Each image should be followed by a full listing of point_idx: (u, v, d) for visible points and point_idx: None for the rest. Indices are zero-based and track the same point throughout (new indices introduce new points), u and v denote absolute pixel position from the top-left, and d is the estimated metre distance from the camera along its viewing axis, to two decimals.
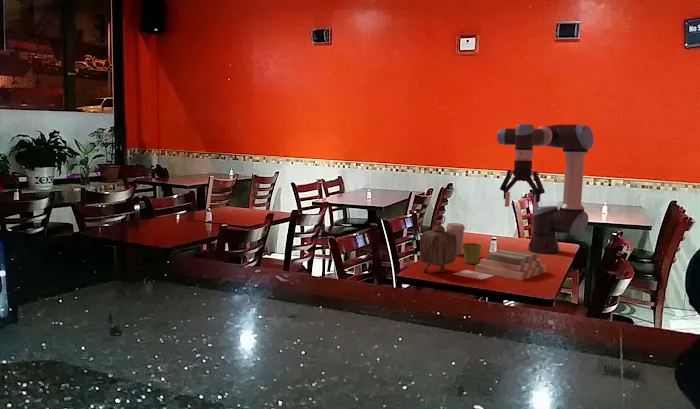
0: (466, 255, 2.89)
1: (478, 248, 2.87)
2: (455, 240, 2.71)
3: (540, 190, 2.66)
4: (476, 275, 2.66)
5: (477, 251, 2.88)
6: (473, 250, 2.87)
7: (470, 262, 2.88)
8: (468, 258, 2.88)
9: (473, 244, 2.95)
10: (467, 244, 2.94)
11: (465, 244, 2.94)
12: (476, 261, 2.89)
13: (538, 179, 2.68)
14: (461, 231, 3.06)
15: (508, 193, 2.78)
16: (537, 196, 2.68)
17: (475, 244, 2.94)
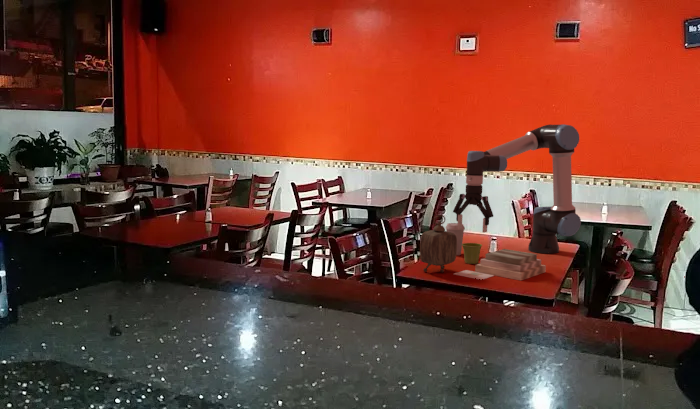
0: (466, 255, 2.89)
1: (478, 248, 2.87)
2: (455, 240, 2.71)
3: (489, 214, 2.81)
4: (476, 275, 2.66)
5: (477, 251, 2.88)
6: (473, 250, 2.87)
7: (470, 262, 2.88)
8: (468, 258, 2.88)
9: (473, 244, 2.95)
10: (467, 244, 2.94)
11: (465, 244, 2.94)
12: (476, 261, 2.89)
13: (487, 203, 2.83)
14: (461, 231, 3.06)
15: (460, 216, 2.93)
16: (486, 219, 2.83)
17: (475, 244, 2.94)
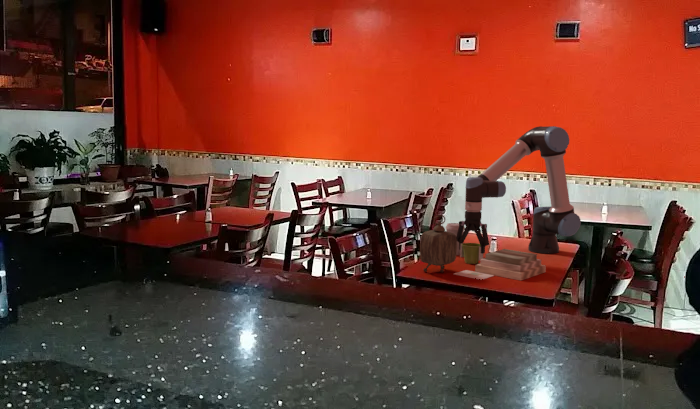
0: (466, 255, 2.89)
1: (478, 248, 2.87)
2: (455, 240, 2.71)
3: (485, 242, 2.84)
4: (476, 275, 2.66)
5: (477, 251, 2.88)
6: (473, 250, 2.87)
7: (470, 262, 2.88)
8: (468, 258, 2.88)
9: (473, 244, 2.95)
10: (467, 244, 2.94)
11: (465, 244, 2.94)
12: (476, 261, 2.89)
13: (485, 232, 2.85)
14: None
15: None
16: (482, 248, 2.86)
17: (475, 244, 2.94)
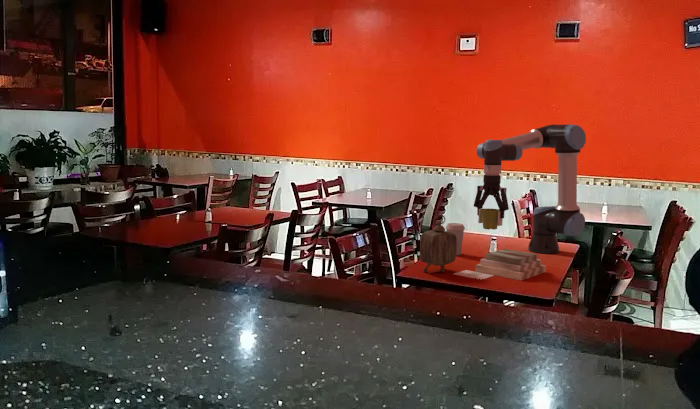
0: (484, 220, 2.79)
1: (497, 213, 2.77)
2: (455, 240, 2.71)
3: (504, 207, 2.74)
4: (476, 275, 2.66)
5: (496, 216, 2.77)
6: (492, 215, 2.77)
7: (489, 228, 2.78)
8: (486, 223, 2.78)
9: (491, 210, 2.84)
10: (485, 210, 2.84)
11: (483, 210, 2.84)
12: (495, 227, 2.79)
13: (504, 196, 2.74)
14: (461, 231, 3.06)
15: None
16: (501, 212, 2.76)
17: (494, 210, 2.84)
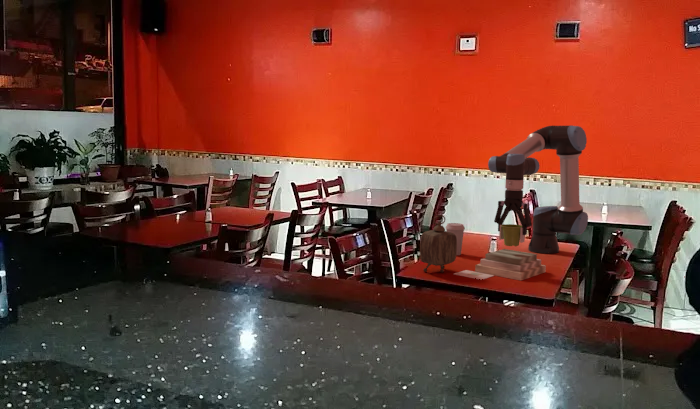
0: (506, 237, 2.70)
1: (519, 229, 2.68)
2: (455, 240, 2.71)
3: (527, 223, 2.65)
4: (476, 275, 2.66)
5: (518, 232, 2.69)
6: (514, 231, 2.68)
7: (511, 244, 2.70)
8: (508, 240, 2.70)
9: (512, 225, 2.76)
10: (506, 225, 2.76)
11: (504, 225, 2.75)
12: (517, 243, 2.70)
13: (527, 211, 2.66)
14: (461, 231, 3.06)
15: None
16: (524, 229, 2.67)
17: (515, 225, 2.75)
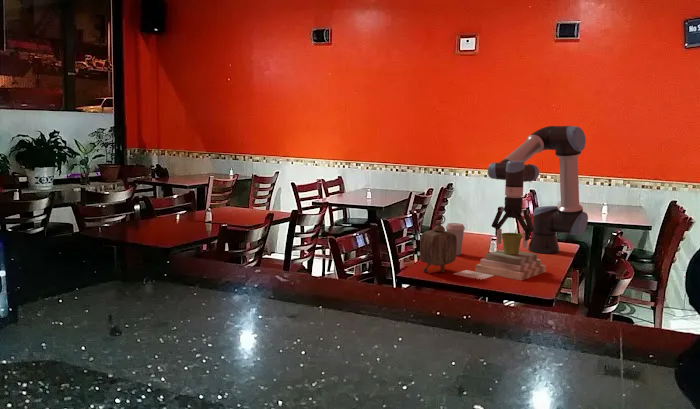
0: (506, 245, 2.71)
1: (519, 238, 2.69)
2: (455, 240, 2.71)
3: (529, 229, 2.65)
4: (476, 275, 2.66)
5: (518, 241, 2.69)
6: (514, 240, 2.69)
7: (510, 253, 2.70)
8: (508, 249, 2.70)
9: (512, 234, 2.76)
10: (506, 234, 2.76)
11: (504, 234, 2.76)
12: (516, 252, 2.71)
13: (528, 217, 2.66)
14: (461, 231, 3.06)
15: (500, 230, 2.76)
16: (526, 234, 2.67)
17: (515, 234, 2.76)
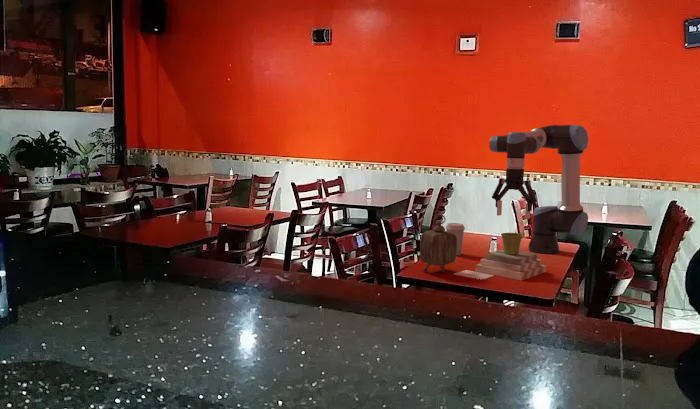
0: (506, 245, 2.71)
1: (519, 238, 2.69)
2: (455, 240, 2.71)
3: (532, 199, 2.63)
4: (476, 275, 2.66)
5: (518, 241, 2.69)
6: (514, 240, 2.69)
7: (510, 253, 2.70)
8: (508, 249, 2.70)
9: (512, 234, 2.76)
10: (506, 234, 2.76)
11: (504, 234, 2.76)
12: (516, 252, 2.71)
13: (530, 188, 2.64)
14: (461, 231, 3.06)
15: (500, 202, 2.75)
16: (529, 205, 2.65)
17: (515, 234, 2.76)
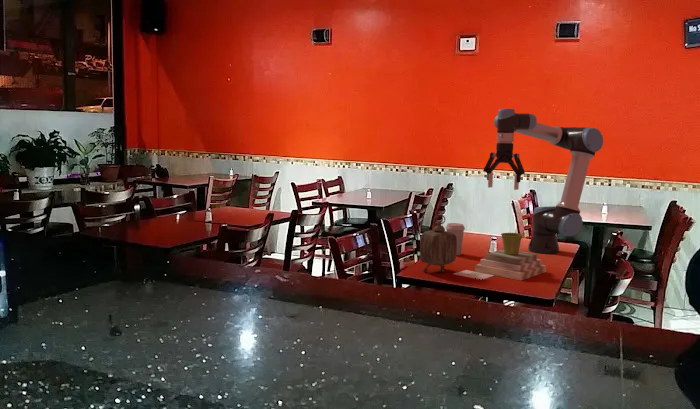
0: (506, 245, 2.71)
1: (519, 238, 2.69)
2: (455, 240, 2.71)
3: (520, 171, 2.82)
4: (476, 275, 2.66)
5: (518, 241, 2.69)
6: (514, 240, 2.69)
7: (510, 253, 2.70)
8: (508, 249, 2.70)
9: (512, 234, 2.76)
10: (506, 234, 2.76)
11: (504, 234, 2.76)
12: (516, 252, 2.71)
13: (519, 160, 2.83)
14: (461, 231, 3.06)
15: (491, 174, 2.94)
16: (518, 177, 2.84)
17: (515, 234, 2.76)
